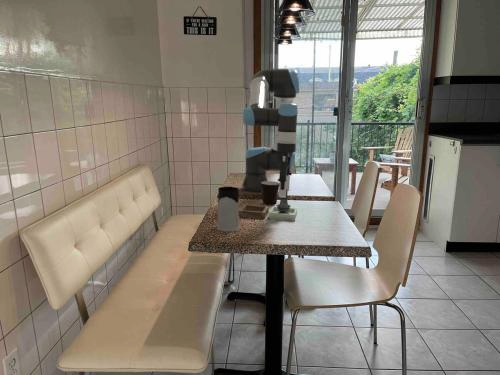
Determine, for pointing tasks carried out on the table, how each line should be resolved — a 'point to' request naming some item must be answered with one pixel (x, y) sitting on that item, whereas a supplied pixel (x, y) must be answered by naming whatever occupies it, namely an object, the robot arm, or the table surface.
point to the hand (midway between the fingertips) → (284, 193)
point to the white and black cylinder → (228, 209)
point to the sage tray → (279, 216)
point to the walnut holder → (254, 211)
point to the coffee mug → (270, 192)
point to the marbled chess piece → (284, 205)
